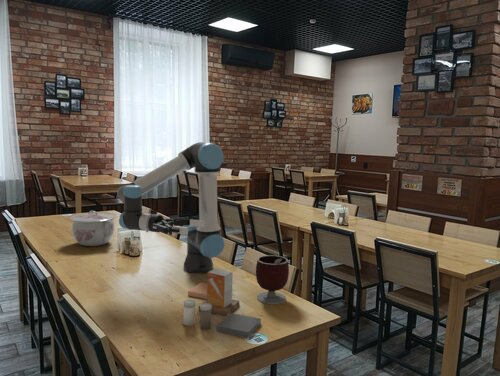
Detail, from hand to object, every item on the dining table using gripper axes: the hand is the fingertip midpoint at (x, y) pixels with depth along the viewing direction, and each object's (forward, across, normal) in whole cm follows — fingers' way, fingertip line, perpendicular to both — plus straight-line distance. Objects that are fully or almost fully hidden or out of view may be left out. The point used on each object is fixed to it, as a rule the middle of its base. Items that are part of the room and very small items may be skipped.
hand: (195, 227), depth 173 cm
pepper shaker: (+16, +22, -30) cm, 41 cm away
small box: (+13, +5, -29) cm, 32 cm away
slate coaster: (+27, +17, -31) cm, 44 cm away
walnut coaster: (+13, +5, -31) cm, 34 cm away
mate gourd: (+29, -13, -32) cm, 45 cm away
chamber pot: (-100, -49, -30) cm, 115 cm away
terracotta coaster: (+1, -7, -31) cm, 32 cm away
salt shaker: (+9, +22, -30) cm, 39 cm away
